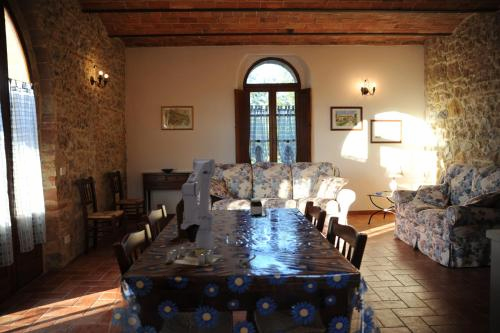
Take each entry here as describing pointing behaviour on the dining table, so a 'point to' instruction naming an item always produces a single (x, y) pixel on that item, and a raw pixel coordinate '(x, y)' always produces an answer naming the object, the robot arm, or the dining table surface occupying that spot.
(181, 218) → the olive oil
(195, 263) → the board
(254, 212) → the spread jar
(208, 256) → the grey piece
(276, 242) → the dining table surface
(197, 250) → the nut
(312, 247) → the dining table surface
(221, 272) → the dining table surface
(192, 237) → the robot arm
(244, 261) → the pliers
